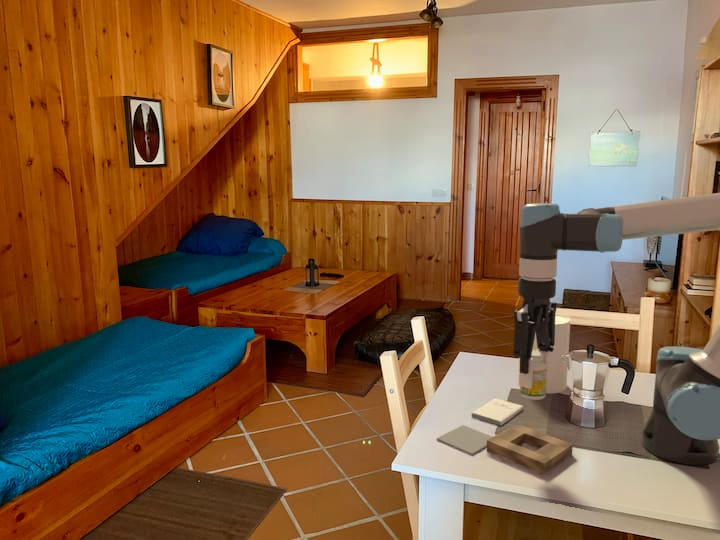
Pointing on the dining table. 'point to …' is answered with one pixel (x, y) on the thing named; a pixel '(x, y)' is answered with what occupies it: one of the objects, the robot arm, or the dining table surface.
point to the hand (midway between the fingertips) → (533, 382)
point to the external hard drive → (497, 411)
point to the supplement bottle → (536, 378)
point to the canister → (556, 356)
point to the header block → (539, 461)
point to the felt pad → (465, 439)
